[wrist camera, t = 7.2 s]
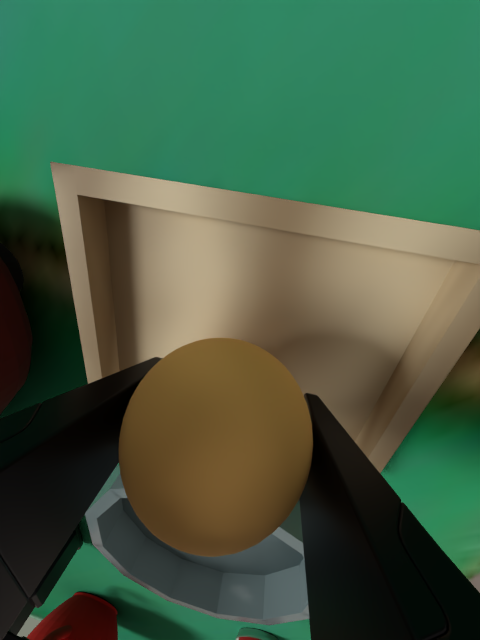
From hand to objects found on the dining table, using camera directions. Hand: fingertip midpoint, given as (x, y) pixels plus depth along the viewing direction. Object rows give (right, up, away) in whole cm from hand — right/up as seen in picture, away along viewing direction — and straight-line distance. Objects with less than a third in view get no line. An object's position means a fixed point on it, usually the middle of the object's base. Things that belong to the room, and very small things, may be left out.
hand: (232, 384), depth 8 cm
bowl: (-2, -12, +9) cm, 15 cm away
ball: (0, -1, -2) cm, 2 cm away
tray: (+1, +1, +3) cm, 3 cm away
